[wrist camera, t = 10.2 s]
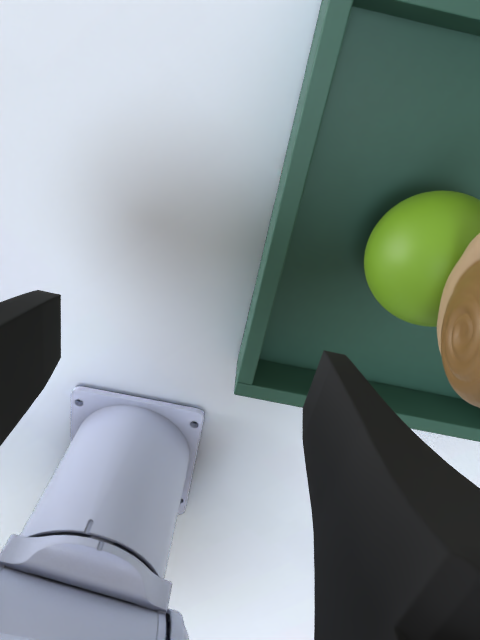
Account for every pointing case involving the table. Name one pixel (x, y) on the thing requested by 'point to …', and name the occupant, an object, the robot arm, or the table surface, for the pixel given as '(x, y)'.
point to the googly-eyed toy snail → (433, 276)
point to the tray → (365, 203)
